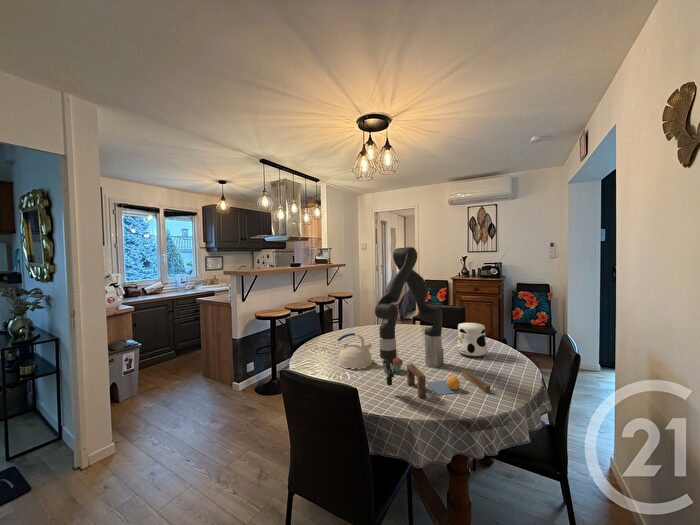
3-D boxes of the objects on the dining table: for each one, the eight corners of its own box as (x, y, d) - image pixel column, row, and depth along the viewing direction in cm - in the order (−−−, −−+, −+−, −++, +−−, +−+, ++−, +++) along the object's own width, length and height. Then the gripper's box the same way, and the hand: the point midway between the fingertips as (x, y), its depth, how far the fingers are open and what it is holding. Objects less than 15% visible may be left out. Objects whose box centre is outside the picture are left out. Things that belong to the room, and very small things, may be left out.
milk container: (451, 352, 188) (450, 324, 188) (472, 348, 194) (471, 321, 194) (471, 360, 172) (470, 330, 172) (493, 356, 178) (493, 326, 178)
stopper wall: (465, 375, 152) (465, 369, 152) (490, 392, 132) (490, 386, 132) (462, 375, 152) (462, 369, 152) (486, 393, 132) (486, 386, 132)
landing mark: (450, 380, 147) (450, 379, 147) (464, 391, 134) (464, 391, 134) (425, 383, 145) (425, 382, 145) (437, 395, 132) (437, 394, 132)
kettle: (370, 370, 163) (369, 338, 163) (334, 369, 167) (332, 337, 167) (374, 358, 183) (373, 329, 182) (342, 356, 187) (341, 328, 187)
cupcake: (401, 367, 166) (400, 346, 165) (404, 373, 157) (403, 351, 157) (386, 368, 165) (385, 346, 165) (388, 374, 157) (387, 351, 157)
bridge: (413, 383, 145) (412, 363, 144) (426, 397, 130) (425, 375, 130) (407, 384, 144) (406, 364, 144) (419, 398, 129) (418, 376, 129)
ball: (454, 372, 140) (442, 376, 140) (459, 377, 134) (447, 381, 134) (458, 384, 140) (446, 388, 140) (463, 389, 134) (451, 393, 134)
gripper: (400, 351, 129) (402, 390, 129) (391, 342, 142) (392, 377, 142) (384, 352, 127) (385, 392, 128) (376, 343, 140) (377, 379, 141)
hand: (389, 384), depth 135 cm, fingers closed
